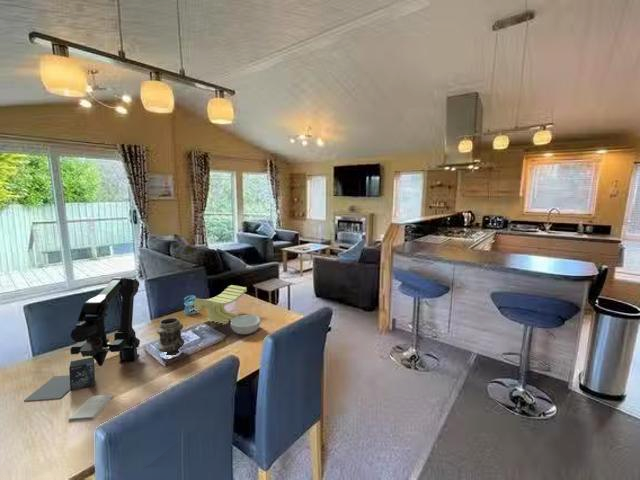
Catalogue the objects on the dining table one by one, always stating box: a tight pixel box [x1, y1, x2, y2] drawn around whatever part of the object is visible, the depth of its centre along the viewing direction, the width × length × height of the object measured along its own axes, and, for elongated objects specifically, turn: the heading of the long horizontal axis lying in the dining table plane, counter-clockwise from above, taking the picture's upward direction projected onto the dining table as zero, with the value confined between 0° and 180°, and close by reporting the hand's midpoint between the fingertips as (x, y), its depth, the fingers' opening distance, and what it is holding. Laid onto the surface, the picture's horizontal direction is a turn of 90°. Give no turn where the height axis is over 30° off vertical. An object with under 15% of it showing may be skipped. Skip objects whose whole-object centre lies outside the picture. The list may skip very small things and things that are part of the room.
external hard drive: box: [68, 394, 114, 422], centre depth 114 cm, size 2×8×12 cm
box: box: [68, 356, 96, 391], centre depth 127 cm, size 8×6×11 cm
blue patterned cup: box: [183, 294, 200, 316], centre depth 205 cm, size 8×8×12 cm
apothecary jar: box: [155, 317, 185, 355], centre depth 152 cm, size 12×12×18 cm
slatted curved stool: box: [193, 284, 248, 325], centre depth 196 cm, size 30×16×18 cm, turn 154°
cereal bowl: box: [230, 314, 261, 336], centre depth 178 cm, size 17×17×7 cm
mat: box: [23, 374, 71, 402], centre depth 127 cm, size 13×16×1 cm
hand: (101, 365), depth 128 cm, fingers closed
